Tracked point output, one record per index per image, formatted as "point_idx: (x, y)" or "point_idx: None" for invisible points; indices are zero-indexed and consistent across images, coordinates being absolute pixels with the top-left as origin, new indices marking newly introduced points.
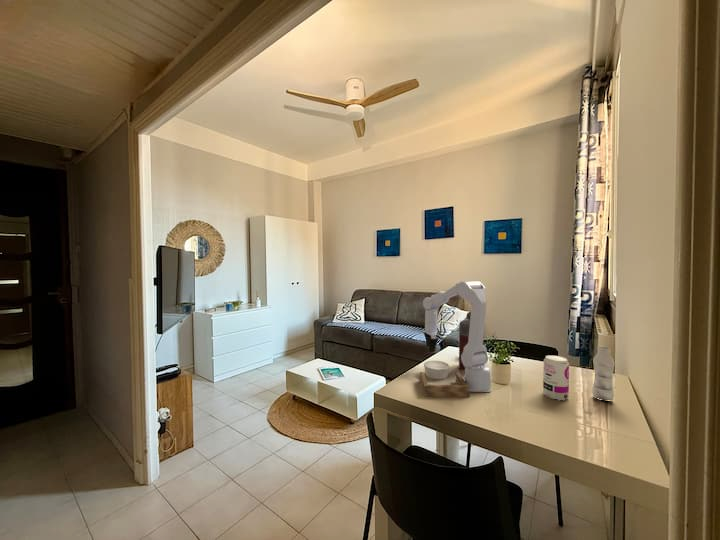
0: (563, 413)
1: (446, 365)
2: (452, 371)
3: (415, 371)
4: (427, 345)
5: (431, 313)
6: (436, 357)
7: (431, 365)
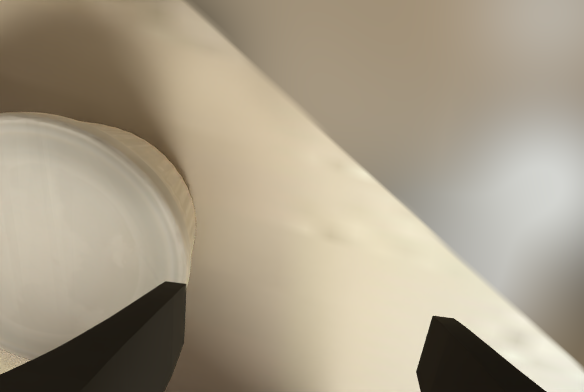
0: None
1: (32, 341)
2: (204, 353)
3: (206, 48)
4: (441, 336)
5: None
6: (539, 341)
7: (8, 192)
